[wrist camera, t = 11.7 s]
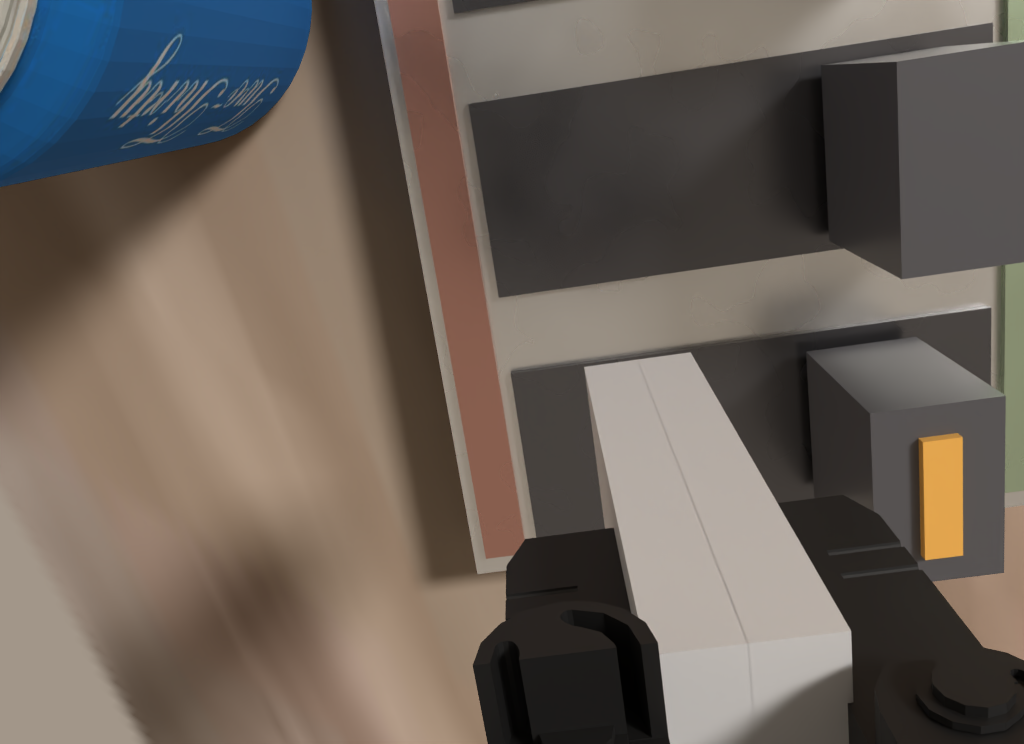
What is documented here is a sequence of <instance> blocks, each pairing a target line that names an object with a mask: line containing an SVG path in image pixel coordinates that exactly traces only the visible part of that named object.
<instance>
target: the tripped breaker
mask: <svg viewBox="0 0 1024 744" xmlns="http://www.w3.org/2000/svg"><path fill="white" fill-rule="evenodd" d="M806 359H807V377H808V394H809V412H810V430H811V448H812V465H813V483H814V498H821V497H829V496H836V495H844V496H846V497H848V498H850V499H852V500H854V501H855V502H857V503H859V504H861V505H863V506H865V507H866V508H868V509H870V510H872V511H874V512H876V513H877V514H879V515H880V516H881V517H882V518H883V520H884V521H885V522H886V524H887V525H888V526H889V527H890V529H891V530H892V531H893V533H894V534H895V535H896V536H897V538H898V539H899V540H900V543H901V547H905V548H906V549H907V550H908V552H909V553H910V554H911V556H912V557H913V558H914V559H915V561H916V562H917V563H918V568H919V570H923V571H924V572H925V574H926V575H927V576H928V577H929V579H930V580H931V581H940V580H948V579H957V578H965V577H973V576H981V575H989V574H997V573H1004V516H1005V423H1006V396H1005V395H1004V394H1002V393H1001V392H999V391H998V390H996V389H995V388H993V387H992V386H990V385H989V384H987V383H986V382H984V381H983V380H981V379H980V378H978V377H977V376H975V375H973V374H972V373H970V372H969V371H967V370H966V369H964V368H963V367H961V366H960V365H958V364H957V363H955V362H954V361H952V360H951V359H949V358H948V357H946V356H945V355H943V354H942V353H940V352H939V351H937V350H936V349H934V348H932V347H931V346H929V345H928V344H926V343H925V342H923V341H922V340H920V339H919V338H917V337H909V338H902V339H895V340H887V341H880V342H873V343H865V344H858V345H851V346H844V347H836V348H829V349H822V350H814V351H807V352H806Z"/></svg>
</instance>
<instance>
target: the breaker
mask: <svg viewBox="0 0 1024 744" xmlns="http://www.w3.org/2000/svg"><path fill="white" fill-rule="evenodd" d="M821 75H822V97H823V118H824V139H825V160H826V182H827V203H828V224H829V241H831V242H832V243H834V244H836V245H838V246H840V247H842V248H844V249H846V250H847V251H849V252H851V253H853V254H855V255H857V256H859V257H861V258H863V259H864V260H866V261H868V262H870V263H872V264H874V265H876V266H878V267H879V268H881V269H883V270H885V271H887V272H889V273H891V274H893V275H895V276H896V277H898V278H900V279H908V278H916V277H923V276H930V275H937V274H944V273H951V272H958V271H965V270H972V269H979V268H987V267H994V266H1001V265H1008V264H1015V263H1022V262H1024V40H1019V41H1006V42H994V43H981V44H968V45H955V46H943V47H936V48H929V49H923V50H916V51H910V52H903V53H897V54H890V55H884V56H877V57H871V58H864V59H858V60H852V61H845V62H839V63H832V64H826V65H821Z"/></svg>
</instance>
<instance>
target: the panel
mask: <svg viewBox="0 0 1024 744" xmlns="http://www.w3.org/2000/svg"><path fill="white" fill-rule="evenodd" d="M374 4H375V9H376V15H377V20H378V26H379V31H380V37H381V43H382V48H383V54H384V59H385V65H386V70H387V76H388V81H389V87H390V92H391V98H392V103H393V109H394V115H395V120H396V126H397V131H398V137H399V142H400V148H401V153H402V159H403V164H404V170H405V176H406V181H407V187H408V192H409V198H410V203H411V209H412V214H413V220H414V225H415V231H416V236H417V242H418V248H419V253H420V259H421V264H422V270H423V275H424V281H425V286H426V292H427V297H428V303H429V308H430V314H431V320H432V325H433V331H434V336H435V342H436V347H437V353H438V358H439V364H440V369H441V375H442V380H443V386H444V392H445V397H446V403H447V408H448V414H449V419H450V425H451V430H452V436H453V441H454V447H455V452H456V458H457V464H458V469H459V475H460V480H461V486H462V491H463V497H464V502H465V508H466V513H467V519H468V525H469V530H470V536H471V541H472V547H473V552H474V558H475V563H476V569H477V574H483V573H491V572H499V571H506V566H507V564H508V563H509V561H510V560H511V559H512V557H513V556H514V554H515V553H516V551H517V550H518V549H519V547H520V546H521V544H522V543H523V542H524V540H525V539H529V538H537V537H544V536H552V535H560V534H568V533H575V532H583V531H591V530H599V529H605V525H604V517H603V509H602V502H601V494H600V486H599V478H598V471H597V463H596V455H595V447H594V440H593V432H592V424H591V416H590V409H589V401H588V393H587V385H586V378H585V370H584V367H587V366H595V365H602V364H609V363H616V362H624V361H631V360H638V359H645V358H653V357H660V356H667V355H674V354H682V353H689V352H691V354H692V356H693V357H694V359H695V361H696V363H697V364H698V366H699V368H700V370H701V371H702V373H703V375H704V377H705V378H706V380H707V382H708V383H709V385H710V387H711V389H712V390H713V392H714V394H715V396H716V397H717V399H718V401H719V403H720V404H721V406H722V408H723V410H724V411H725V413H726V415H727V416H728V418H729V420H730V422H731V423H732V425H733V427H734V429H735V430H736V432H737V434H738V436H739V437H740V439H741V441H742V442H743V444H744V446H745V448H746V449H747V451H748V453H749V455H750V456H751V458H752V460H753V462H754V463H755V465H756V467H757V468H758V470H759V472H760V474H761V475H762V477H763V479H764V481H765V482H766V484H767V486H768V488H769V489H770V491H771V493H772V495H773V496H774V498H775V500H776V501H777V503H782V502H790V501H798V500H805V499H813V498H814V483H813V465H812V448H811V430H810V412H809V394H808V377H807V359H806V352H807V351H814V350H822V349H829V348H836V347H844V346H851V345H858V344H865V343H873V342H880V341H887V340H895V339H902V338H909V337H917V338H919V339H920V340H922V341H923V342H925V343H926V344H928V345H929V346H931V347H932V348H934V349H936V350H937V351H939V352H940V353H942V354H943V355H945V356H946V357H948V358H949V359H951V360H952V361H954V362H955V363H957V364H958V365H960V366H961V367H963V368H964V369H966V370H967V371H969V372H970V373H972V374H973V375H975V376H977V377H978V378H980V379H981V380H983V381H984V382H986V383H987V384H989V385H990V386H992V387H993V388H995V389H996V390H998V391H999V392H1001V393H1002V394H1004V395H1005V396H1006V423H1005V508H1007V507H1015V506H1023V505H1024V262H1022V263H1015V264H1008V265H1001V266H994V267H987V268H979V269H972V270H965V271H958V272H951V273H944V274H937V275H930V276H923V277H916V278H908V279H900V278H898V277H896V276H895V275H893V274H891V273H889V272H887V271H885V270H883V269H881V268H879V267H878V266H876V265H874V264H872V263H870V262H868V261H866V260H864V259H863V258H861V257H859V256H857V255H855V254H853V253H851V252H849V251H847V250H846V249H844V248H842V247H840V246H838V245H836V244H834V243H832V242H831V241H829V224H828V203H827V182H826V160H825V139H824V118H823V97H822V75H821V65H826V64H832V63H839V62H845V61H852V60H858V59H864V58H871V57H877V56H884V55H890V54H897V53H903V52H910V51H916V50H923V49H929V48H936V47H943V46H955V45H968V44H981V43H994V42H1006V41H1019V40H1024V0H374Z"/></svg>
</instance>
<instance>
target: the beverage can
mask: <svg viewBox="0 0 1024 744" xmlns="http://www.w3.org/2000/svg"><path fill="white" fill-rule="evenodd" d="M311 14H312V0H0V187H3V186H8V185H13V184H18V183H22V182H27V181H32V180H37V179H41V178H46V177H51V176H56V175H60V174H65V173H70V172H75V171H80V170H84V169H89V168H94V167H99V166H103V165H108V164H113V163H118V162H123V161H127V160H132V159H137V158H142V157H146V156H151V155H156V154H161V153H165V152H170V151H175V150H180V149H185V148H189V147H194V146H199V145H203V144H208V143H212V142H216V141H220V140H222V139H225V138H227V137H230V136H232V135H235V134H237V133H239V132H241V131H242V130H244V129H246V128H248V127H249V126H251V125H253V124H254V123H255V122H256V121H258V120H259V119H260V118H261V117H263V116H264V115H265V114H266V113H267V112H268V111H269V110H270V109H271V108H272V107H273V106H274V105H275V104H276V103H277V102H278V101H279V100H280V98H281V97H282V95H283V94H284V93H285V91H286V90H287V89H288V87H289V86H290V84H291V82H292V80H293V78H294V76H295V75H296V73H297V71H298V69H299V66H300V64H301V61H302V58H303V56H304V53H305V50H306V46H307V41H308V37H309V32H310V24H311Z"/></svg>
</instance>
